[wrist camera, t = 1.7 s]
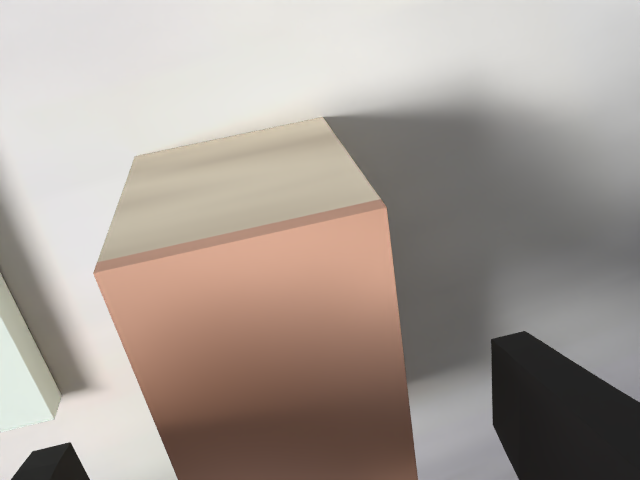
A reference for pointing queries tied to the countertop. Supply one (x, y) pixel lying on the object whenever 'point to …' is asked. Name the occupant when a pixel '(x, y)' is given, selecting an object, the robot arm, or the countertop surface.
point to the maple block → (262, 309)
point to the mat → (22, 372)
